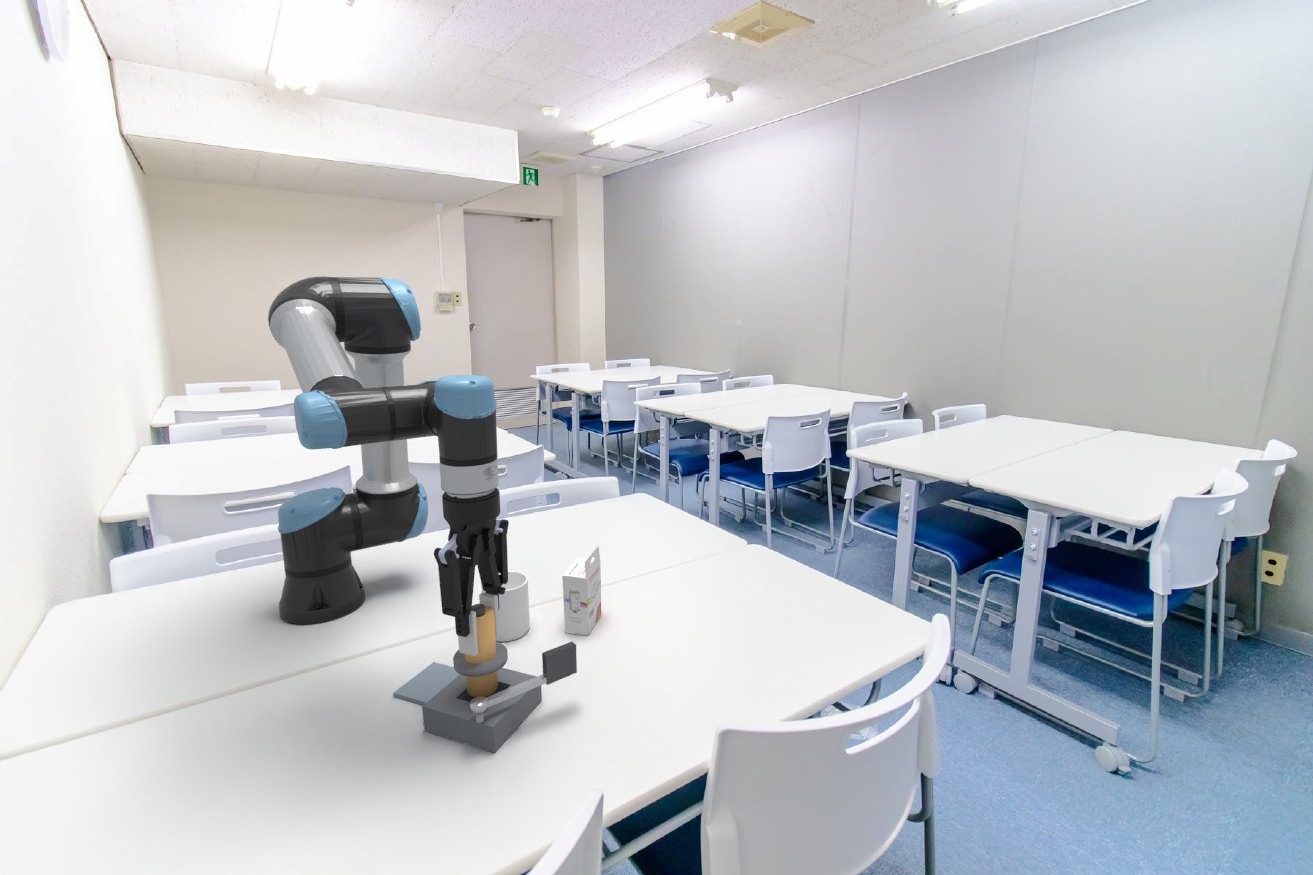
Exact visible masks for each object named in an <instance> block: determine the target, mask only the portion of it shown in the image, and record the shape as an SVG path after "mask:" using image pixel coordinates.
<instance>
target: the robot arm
mask: <svg viewBox="0 0 1313 875" xmlns="http://www.w3.org/2000/svg"><path fill="white" fill-rule="evenodd" d="M267 322H268V326H269V330H270V333H271V335H272V337H273V339H274V341H276V343H277V344H278V345H279V346H281V347H282V348H283V349H285V352H286V354H287V357H288V359H289V361H290V365H291V367H292V369H293V371H294V374H295V377H296V380H297V382H298V384H299V387H300V390H301V391H302V393H299V394H297V395H296V396H295V398H294V400H293V413H294V421H295V427H296V431H297V436H298V440H299V443H300V445H301V446H302V447H303V448H305V449H307V450H322V449H323V450H324V449H325V450H326V449H332V450H338V449H342V448H347V447H353V446H360V451H361V452H360V453H361V463H362V475H361V476H360V477H359V478H358V479H357V480H356V482H355V492H352V493H346V492H345V491H344V490H343V489H342V488H340V487H334V486H333V487H322V488H317V489H316V488H315V489H313V490H308V491H305V492H301V493H300V494H297V495H294V496H292V497H290V498H289V499H287V500H285V501H284V502H283V503H282V504H281V505H280V506H279V508H278V512H277V519H278V520H277V521H278V526H277V530H278V533H279V534H280V542H281V551H282V558H283V567H284V573H285V579H284V582H283V587H282V592H281V598H280V600H279V603H278V610H279V615H280V618H281V620H283V621H284V620H285V622H286V621H287V623H289V624H293V623H297V624H296V625H311V624H312V625H313V624H318V623H319V624H320V623H323V622H324V623H325V622H330V621H333V620H336V619H339V618H342V617H344V616H346V615H349V614H351V613H352V612H354V611H355V610H358V608H360V607H361V606H362V605H363V604H364V603H365V601H366V591H365V586H364V584H363V583H362V581H361V579H360V576H359V575H358V573H357V571H356V569H355V567H354V565H353V562H352V552H356V551H359V550H365V549H370V548H374V547H379V546H384V545H390V544H394V543H403V542H405V541H406V540H409V539H413V538H417V537H419V536H420V535H421V534H422V533H423V532H424V531H425V528H426V526H427V522H428V518H429V503H428V501H427V499H428V494H427V490H426V488H425V486H424V485H423V484H422V483H421V482H418V478H417V477H416V476H415V475H414V474H413V473H412V472H410V471H409V470H410V469H409V452H408V440H412V439H419V438H426V437H427V438H428V437H429V438H430V437H437V443H438V452H439V472H440V474H439V475H440V477H439V478H440V487H441V490H442V491H443V492H444V493H443V494H442V495H441V499H442V500H441V501H442V502H441V503H442V514H443V515H442V516H443V519H444V520H445V521H446V522H447V524H448V526H449V533H448V537H447V540H448V541H447V543H446V544H445V545H444V546H443V547H442V548H441V547H436V548H435V549H434V551H433V556H434V559H435V561H436V563H437V567H438V568H437V570H438V578H439V579H438V580H439V590H440V591H439V592H440V601H441V602H440V603H441V612H442V615H446V616H449V617H453V618H454V621H455V622H454V626H455V633H456V636H457V640H458V650H459V652H460V653H463V654H467V655H471V656H476V655H477V654H478V639H477V623H476V612H475V611H471V610H472V606H473V596H474V587H475V586H474V585H475V584H474V583H475V573H476V566H477V570H478V575H479V578H480V584H481V583H482V587H481V589H482V588H483V590H484V591H486V593H484V592H482V591H481V593H479V594H478V595H479V596H478V597H479V598H478V600H479V604H484V605H485V606H487V607H491V608H492V609H493V610H494V619H495V638H498V637H499V636H500V630H499V594H504V593H505V590H506V588H504V587H501V586H502V584H506V583H507V582H508V571H509V568H508V567H509V565H508V562H509V561H508V559H509V558H508V536H507V535H508V529H509V520H508V519H503V518H498V517H499V516H500V514H501V501H500V500H501V499H500V498H501V494H500V490H499V489H498V488H497V487H498V486H500V482H499V466H498V465H499V463H498V436H497V434H498V432H497V405H498V404H497V399H496V395H495V386H494V382H493V380H492V379H491V378H490V377H489V376H487V375H486V376H485V375H476V374H453V375H446V376H441V377H439V378H438V379H437V380H431V379H430V380H429V379H428V380H424V381H421V382H420V383H417V384H409V385H405V374H404V373H405V372H404V371H405V370H404V358H406V356H408V355H409V354H410V352H411V351H412V347H411V344H412V343H411V342H415V341H417V340H419V338H420V336H421V330H422V324H421V317H420V311H419V307H418V304H417V301H416V298H415V296H414V293H413V292H412V290H411V288H410V287H409V285H407V283H406V282H404V281H402V280H400V279H396V278H395V279H394V278H385V277H362V276H361V277H359V276H358V277H357V276H356V277H353V276H352V277H346V276H345V277H344V276H342V277H341V276H340V277H338V276H337V277H336V276H335V277H334V276H311V277H306V278H304V279H300V280H298V281H296V282H293V283H292V284H290V285H288V286H287V287H285V288H284V289H283V290H282V291H280V292H279V293H278V294H277V295H276V296H275V298H274V300H273V301H272V302H271V305H270V307H269V310H268V316H267ZM341 343H343V346H344V348H343V346H342V344H341ZM347 354H348V355H349V356H350V357H351V358H352V359H353V361H354V367H353V365H352V363H351V361H350V359H349V357H348V355H347ZM498 573H501V575H499V574H498Z"/></svg>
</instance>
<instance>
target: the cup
mask: <svg viewBox="0 0 1313 875" xmlns="http://www.w3.org/2000/svg"><path fill="white" fill-rule="evenodd" d="M498 574H499V575H501V573H498ZM480 585H481V593H482V592H484V593H486V591H484V590H483V588H482V583H481V582H480ZM501 587H504V588H506V590H505V593H504V594H499V630H500V636H499V637H498V638H496V642H499V643H504V642H505V643H506V642H512V641H516V640H518V639H521V638H522V637H524V636H526V634H527V633H528V632H529V630H530V625H531V624H530V620H531V619H530V599H529V598H530V597H529V578H528V576H527V575H526V574H525V573H523V572H521V571H513V570H508V582H507V583H506V584H502V586H501Z"/></svg>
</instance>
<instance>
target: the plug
mask: <svg viewBox="0 0 1313 875" xmlns="http://www.w3.org/2000/svg"><path fill="white" fill-rule="evenodd" d="M471 611H475V612H476V623H477V639H478V654H477V655H476V656H471V655H467V654H463V653H460V652H459V649H458V650H457V651H456V652H455V653H454V654H453V658H452V662H453V663H452V664H453V667H454V669H455V671H456V672H457V673H459V674H461V675H464V676H466V683H467V692H468V694H469V695H471V696H473V697H484V696H488V695H490V694H492V693H493V692H495V691H496V689H497V688H498V677H497V671H498V670H499V669H501V668H504V666H505V665H506V664H507V662H508V659H509V658H508V657H509V653H508V648H507V646H506V645H504V643H503V642H498V641H496V638H495V619H494V610H493V609H492V608H491V607H487V606H485V605H484V604H480V603H475V604H472V610H471Z"/></svg>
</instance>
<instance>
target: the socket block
mask: <svg viewBox="0 0 1313 875" xmlns="http://www.w3.org/2000/svg"><path fill="white" fill-rule="evenodd" d="M537 676H538V675H537ZM537 676H536V675H533V674H529V673H524V672H521V671H518V670H517V671H516V670H513V669H509V668H505V667H502V668H501V669H499V670H498V671H497V677H498V688H497V689H496V691H495V692H493V693H492V694H490V695H488V696H484V697H489V696H491V695H494V694H496V693H498V692H501V691H503V690H506V689H508V688H511V687H513V686H516V685H518V684H520V683H523V682H525V681H528V680H530V679H533V678H535V677H537ZM542 696H543V694H542V685H541V686H538V687H536V688H533V689H531V690H529V691H526V692H524V693H522V694H519V695H517V696H514V697H512V698H510V699H507V700H505V701H503V702H500V703H498V704H495V705H493V706H491V707H489V709H488V711H487V712H486V713H484V714H481V715H473V714H471V712H470V702H471V700H472V699H474V698H476V697H473V696H471V695H469V694H468V692H467V683H466V676H464V675H461V674H460V675H459V676H457V677H456V678H455V679H454V680H453V681H451V682H450V683H449V684H448V685H447V686H446V687H444V688H443V689H442V690H441V691H440V692H438V693H437V694H436V695H435V696H434V697H433V698H431V699H430V700H429V701H428V702H427V703H425V704H424V705H421V710H422V719H423V721H422V722H423V730H424V732H426V733H430V734H433V735H436V736H438V737H439V736H440V737H442V738H446V739H448V740H452V741H455V742H459V743H461V744H465V745H467V746H468V745H469V746H472V747H475V748H477V749H478V748H479V749H481V750H484V751H488V752H491V753H494V754H495V753H496V752H498V750H499V749H500V748H501V747H502V746H503V745H504V744H505V742H507V740H508V739H509V738H510V737H511V736H512V735H513V733H514V732H515V731H516V730H517V729H518V727H520V726H521V724H523V722H524V721H525V720H526V719H527V718H528V717H529V715H531V713H533V711H534V710H535V709H536V708H537V707H538V706H539V705H540V703H541V702H542V701H543V697H542Z"/></svg>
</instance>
